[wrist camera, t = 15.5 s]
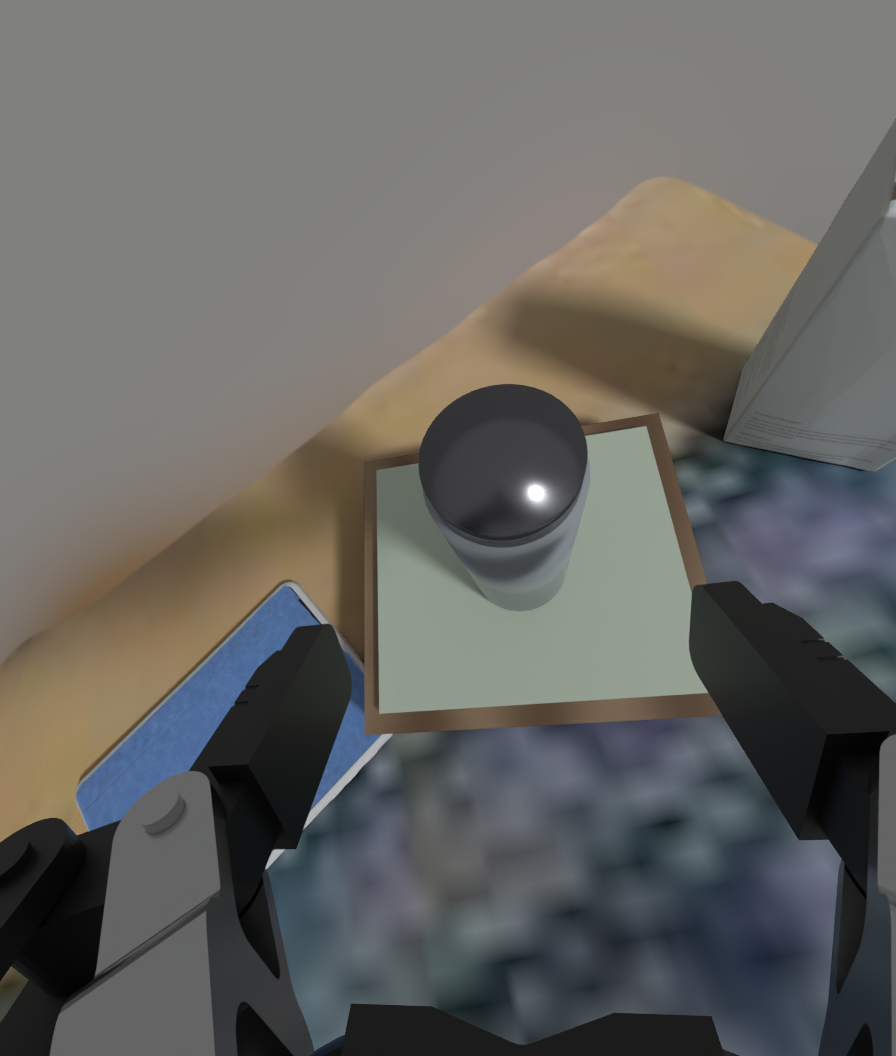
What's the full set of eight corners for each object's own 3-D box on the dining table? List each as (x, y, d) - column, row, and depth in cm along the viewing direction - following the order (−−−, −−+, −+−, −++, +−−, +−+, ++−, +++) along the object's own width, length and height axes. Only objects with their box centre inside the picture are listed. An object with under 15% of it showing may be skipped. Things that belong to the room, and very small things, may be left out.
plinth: (387, 727, 25) (360, 736, 21) (382, 485, 31) (361, 458, 27) (714, 708, 22) (750, 715, 18) (644, 444, 28) (660, 407, 24)
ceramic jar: (475, 615, 22) (413, 551, 11) (469, 526, 24) (409, 394, 13) (573, 607, 21) (612, 529, 10) (559, 515, 23) (579, 364, 12)
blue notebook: (297, 577, 30) (287, 573, 29) (413, 715, 26) (407, 717, 24) (86, 786, 28) (65, 791, 27) (170, 976, 24) (150, 993, 22)
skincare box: (886, 394, 26) (1287, 68, 12) (871, 480, 24) (1308, 224, 10) (732, 368, 28) (917, 74, 14) (711, 445, 27) (894, 201, 13)
